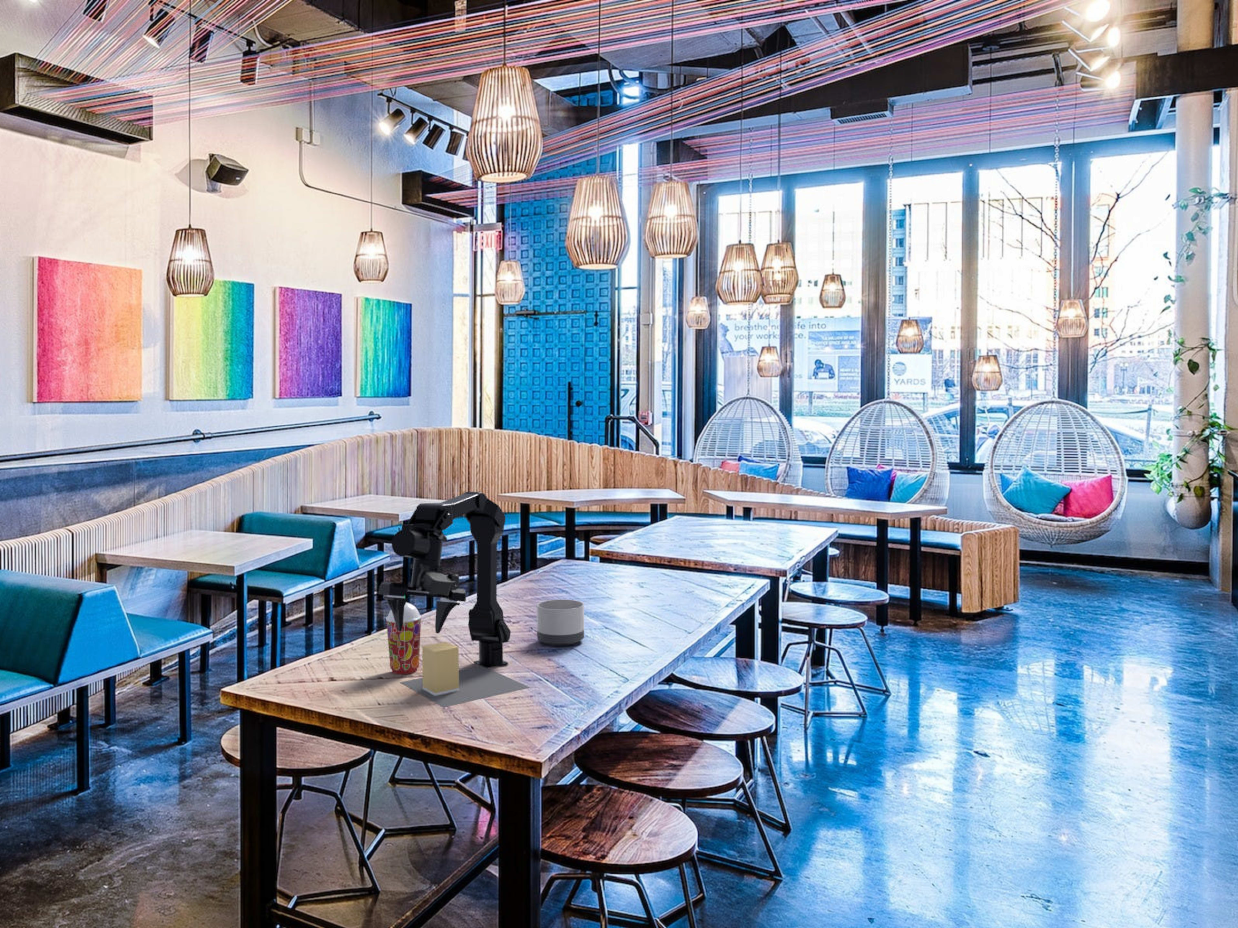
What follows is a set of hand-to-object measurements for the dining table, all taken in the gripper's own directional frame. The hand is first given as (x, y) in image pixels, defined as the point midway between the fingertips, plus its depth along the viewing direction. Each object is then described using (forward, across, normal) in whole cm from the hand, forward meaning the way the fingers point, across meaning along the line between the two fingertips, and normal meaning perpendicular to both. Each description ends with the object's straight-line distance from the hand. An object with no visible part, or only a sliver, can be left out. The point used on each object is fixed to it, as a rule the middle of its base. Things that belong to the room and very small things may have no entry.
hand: (418, 631), depth 202 cm
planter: (+2, +56, +23) cm, 61 cm away
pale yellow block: (+13, +11, +6) cm, 18 cm away
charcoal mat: (+12, +17, +6) cm, 22 cm away
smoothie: (+11, +11, +25) cm, 30 cm away
